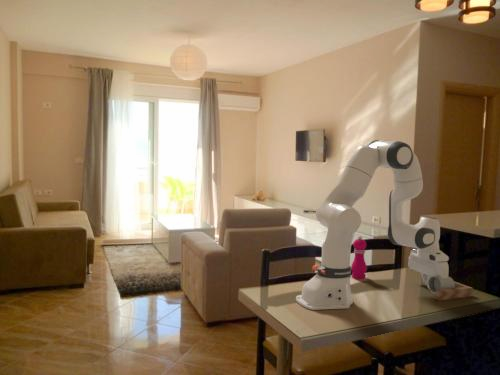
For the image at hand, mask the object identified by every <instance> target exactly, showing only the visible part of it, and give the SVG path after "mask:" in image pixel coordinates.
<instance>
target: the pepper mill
mask: <svg viewBox="0 0 500 375" xmlns="http://www.w3.org/2000/svg"><path fill="white" fill-rule="evenodd" d="M352 245H353V248H354V249H353V250H354V251H353V253H354V258H353V261H352V262H351V265H350V266H351V277H352V278H353V279H355V280H364V279H366V275H367V274H366V273H367V271H368V267H367V263H366V260H365V253H366V249H367V242H366V241H365V240H364V239H363V237H362V235H358V237H357V239H355V240H354V241H353V242H352Z"/></svg>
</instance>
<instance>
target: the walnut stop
mask: <svg viewBox="0 0 500 375" xmlns="http://www.w3.org/2000/svg"><path fill="white" fill-rule="evenodd" d="M454 283H455V288H452V289H444V290H436V291H435V294H434V300H436V301H445V300H455V299H461V298H462V299H463V298H470V297H473V292H474V291H473V289H474V288H473V287H471V286H468V285H465V284H464V283H460V282H457V281H456V280H455V281H454Z"/></svg>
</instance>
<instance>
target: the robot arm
mask: <svg viewBox="0 0 500 375" xmlns="http://www.w3.org/2000/svg"><path fill="white" fill-rule="evenodd" d="M379 167H381V168H384V169H391V171H392V175H393V183H394V184H393V189H391V191H390V193H389V195H388V196H389V197H388V227H387V238H388V240H389V241H390V243H391V244H392V245H396V246H404V247H409V248H413V249H411V250H410V253H409V257H408V262H407V263H408V264H407V265H408V268H409V269H410V270H412V271H416V272H418V273H420V276H421V279H422V284H425V285H428V281H429V279H430V277H431V276H439V277H441V278H448V276H449V272H450V271H449V264H448V261H449V260H450V257H449V256H448V255H447V254H446V253H444V252H443V251H442V250H440V242H439V241H440V238H441V225H440V220H439V219H438V218H436V217H431V216H420V218H419V221H418V222H417V223H415V224H409V223H405V222H404V221H403V204H404V203H405V202H407V201H410V200H413V199H414V198H417V197H418V196H419V195H420V194H421V193H422V191H423V190H424V189H423V188H424V182H423V181H424V180H423V173H422V168H421V164H420V161H419V158H418V156H417V155H416V154H415V152H413V149H412V147H411V146H410V145H409V144H408V143H406V142H404V141H401V140H400V141H398V140H397V141H396V140H390V139H375V140H372V141H370V142H368V143H367V144H365V145H360V146H358V147H357V148H356V149H355V150H354V152H353V153H352V155H351V156H350V157H349V160H348V161H347V162H346V165H345V167H344V169H343V171H342V174H340V177H339V179H338V181H337V183H336V185H334V188H333V189H332V190H331V192H330V193H329V194H328V196H326V198H325V199H324V201H322V203H320V204H319V205H318V206H317V208H316V209H315V210H316V211H315V218H316V219H317V221H318V222H319V223H320V224H321V225H322V226H323V227H325V228H327V233H326V235H325V236H326V237H325V239H324V242H323V243H322V245H321V263H320V265H319V266H318V265H316V264H314V265H312V270H313V271H315V272H317V273H316V274H315V275H314V276H313V277H311V278H310V279H309V280H308V281H306V282H305V283H304V284H303V286H302V289H301V294H299V295H296V296H295V301H296V302H297V303H298V304H299V305H300V306H302V307H303V308H306V309H308V310H311V311H317V310H319V311H321V310H341V309H342V310H343V309H350V308H351V306H352V305H353V303H354V299H353V296H352V291H351V277H352V270H351V266H352V265H351V250H352V245H353V240H354V236H355V234H356V232H357V231H358V230H359V228H360V227H361V224H362V216H361V214H360V213H359V211H358V210H356V208H354V207H353V206H354V205H356V203H357V201H358V200H360V199H362V198H363V197H364V196H365V194H366V192H367V190H368V187H369V185H370V184H371V181H372V179H373V177H374V174H375V172H376V170H377V169H378V168H379ZM434 278H437V277H434Z"/></svg>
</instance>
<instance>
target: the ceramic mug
mask: <svg viewBox="0 0 500 375" xmlns="http://www.w3.org/2000/svg"><path fill="white" fill-rule="evenodd" d="M434 277H437V278H434ZM426 285H427V284H426ZM452 288H455V283H454V279H453V278H452V277H451V276H449V275H448V278H441V277H439V276H431V277H430V279H429V281H428V285H427V289H428V290H429V291H430V292H431V293H432V294H433V295H435V291H436V290H444V289H452Z"/></svg>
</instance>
